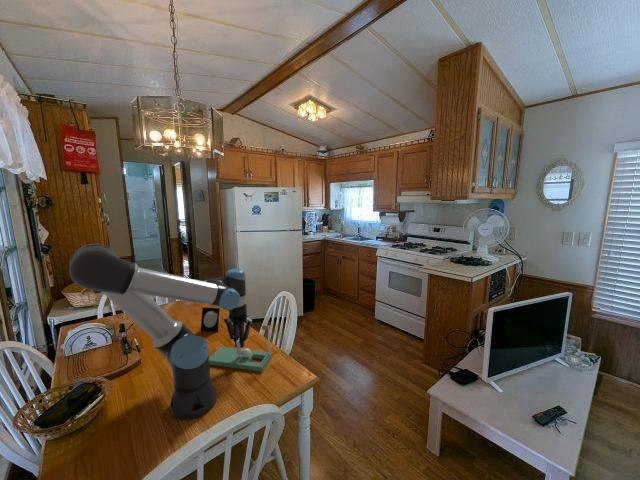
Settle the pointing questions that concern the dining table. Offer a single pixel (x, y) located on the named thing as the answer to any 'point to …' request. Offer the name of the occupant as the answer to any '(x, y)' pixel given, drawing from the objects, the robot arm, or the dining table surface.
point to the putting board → (241, 357)
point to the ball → (246, 352)
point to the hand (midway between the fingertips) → (240, 353)
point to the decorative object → (210, 319)
